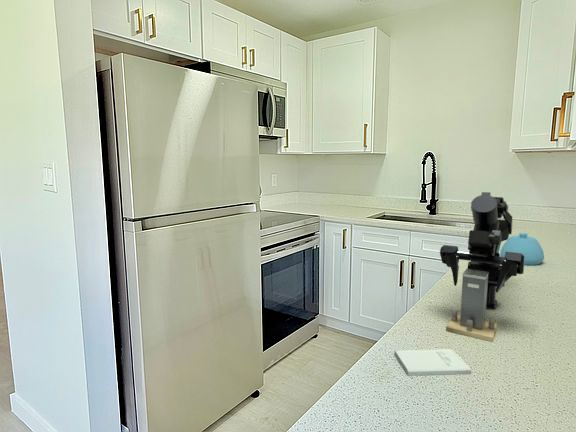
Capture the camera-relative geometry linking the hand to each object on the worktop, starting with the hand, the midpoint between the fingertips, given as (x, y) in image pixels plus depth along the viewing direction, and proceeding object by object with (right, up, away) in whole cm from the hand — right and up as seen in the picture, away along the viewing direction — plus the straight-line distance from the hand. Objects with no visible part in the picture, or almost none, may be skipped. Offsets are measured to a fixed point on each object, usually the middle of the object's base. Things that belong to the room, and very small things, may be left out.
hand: (475, 288), depth 90 cm
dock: (-1, -10, +1) cm, 10 cm away
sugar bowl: (+49, -1, +60) cm, 78 cm away
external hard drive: (-17, -13, -15) cm, 26 cm away
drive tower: (0, -9, 0) cm, 9 cm away
